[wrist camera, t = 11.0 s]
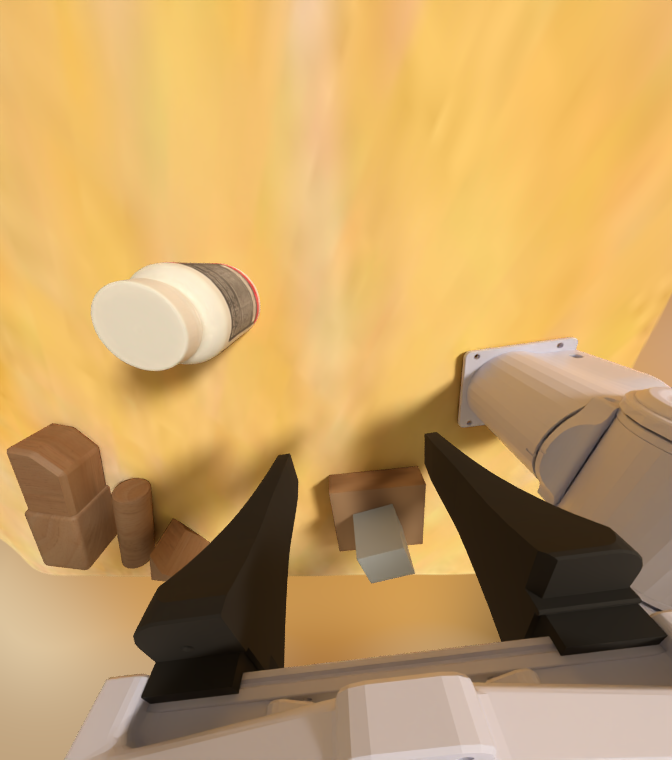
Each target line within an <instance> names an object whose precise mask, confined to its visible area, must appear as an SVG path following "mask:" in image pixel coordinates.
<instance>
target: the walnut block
mask: <svg viewBox="0 0 672 760" xmlns="http://www.w3.org/2000/svg"><path fill="white" fill-rule="evenodd" d="M425 489H426V484H425V481H424V479H423V477H422V474H421V472H420V470H419V468H418V466H414V467H405V468H395V469H385V470H375V471H365V472H355V473H346V474H336V475H329V496H330V501H331V506H332V512H333V517H334V523H335V528H336V533H337V539H338V544H339V550H340V551H348V550H356V544H355V533H354V522H353V514H357V513H360V512H364V511H368V510H371V509H375V508H379V507H382V506H386V505H390V504H393V507H394V509H395V511H396V514H397V516H398V519H399V521H400V523H401V526H402V528H403V532H404V535H405V539H406V543H407V545H415V544H422V543H423V525H424V507H425Z"/></svg>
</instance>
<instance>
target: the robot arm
mask: <svg viewBox="0 0 672 760" xmlns="http://www.w3.org/2000/svg"><path fill="white" fill-rule="evenodd" d="M559 343H560V344H559ZM558 344H559V345H558ZM577 344H578V340H577V339H576V338H574V337H567V338H560V339H553V340H545V341H538V342H531V343H524V344H516V345H509V346H502V347H495V348H488V349H480V350H473V351H468V352H466V353H465V355H464V357H463V369H462V380H461V391H460V403H459V414H458V424H459V426H460V427H472V426H480V425H486V426H487V427H488V428H489V429H490V430H491V431H492V432H493V433H494V434H495V435H496V436H497V437H498V438H499V439H500V440H501V441H502V443H503V444H504V445H505V446H506V447H507V448H508V449H509V450H510V451H511V452H512V453H513V454H514V455H515V456H516V457H517V458H518V459H519V460H520V461H521V462H522V463H523V464H524V465H525V466H526V467H527V468H528V469H529V470H530V471H531V472H532V473H533V474H534V476H535V477H536V478H537V479H538V480H539V482H540V486H539V489H538V491H537V492H538V493H539V494H540V496H541V497H542V498H543V499H544V500H545V501H543V500H541V499H539V498H537V497H535V496H533V495H531V494H529V493H527V492H525V491H523V490H521V489H519V488H517V487H515V486H514V485H512V484H510V483H508V482H507V481H505V480H503V479H501V478H500V477H498V476H496V475H495V474H493V473H491V472H490V471H488V470H487V469H485V468H484V467H482V466H481V465H479V464H478V463H476V462H475V461H473V460H472V459H471V458H469V457H468V456H467V455H465V454H464V453H462V452H461V451H460V450H459V449H457V448H456V447H455V446H453V445H452V444H451V443H450V442H448V441H447V440H446V439H444V438H443V437H442V436H441V435H439V434H438V433H437V432H434V433H427V434H425V466H426V468H427V471H428V474H429V476H430V478H431V481H432V483H433V485H434V487H435V489H436V491H437V492H438V494H439V496H440V498H441V500H442V502H443V504H444V506H445V507H446V509H447V511H448V513H449V515H450V517H451V519H452V520H453V522H454V524H455V526H456V528H457V530H458V532H459V535H460V537H461V539H462V542H463V544H464V546H465V549H466V551H467V553H468V556H469V558H470V561H471V563H472V566H473V568H474V571H475V573H476V576H477V578H478V581H479V583H480V586H481V588H482V591H483V593H484V596H485V599H486V601H487V603H488V606H489V609H490V612H491V614H492V617H493V620H494V623H495V625H496V628H497V631H498V634H499V636H500V639H501V642H497V643H488V644H480V645H471V646H463V647H455V648H447V649H438V650H430V651H421V652H413V653H406V654H396V655H388V656H379V657H371V658H363V659H354V660H346V661H338V662H329V663H321V664H313V665H304V666H296V667H288V668H284V648H285V647H284V646H285V617H286V595H287V577H288V564H289V552H290V544H291V538H292V532H293V526H294V520H295V513H296V507H297V500H298V478H297V475H296V472H295V469H294V465H293V462H292V459H291V455H290V454H284V455H279V456H278V457H277V458H276V460H275V462H274V463H273V465H272V466H271V468H270V470H269V471H268V473H267V474H266V476H265V477H264V479H263V480H262V482H261V483H260V485H259V486H258V488H257V489H256V491H255V492H254V493H253V495H252V496H251V497H250V499H249V500H248V501H247V503H246V504H245V505H244V507H243V508H242V509H241V510H240V512H239V513H238V514H237V515H236V516H235V517H234V519H233V520H232V521H231V522H230V523H229V524H228V525H227V526H226V527H225V528H224V530H223V531H222V532H221V533H220V534H219V535H218V536H217V537H216V538H215V539H214V540H213V541H212V542H211V543H210V544H209V545H208V546H207V547H206V548H204V549H203V550H202V551H201V552H200V553H199V554H198V555H197V556H196V557H195V558H193V559H192V560H191V561H190V562H189V563H188V564H187V565H185V566H184V567H183V568H182V569H181V570H179V571H178V572H177V573H176V574H174V575H173V576H172V577H171V578H170V579H168V580H167V581H166V582H165V583H163V584H162V585H161V586H159V587H158V589H157V591H156V593H155V594H154V596H153V598H152V600H151V602H150V604H149V605H148V608H147V609H146V611H145V613H144V615H143V617H142V619H141V621H140V623H139V625H138V627H137V629H136V631H135V633H134V636H133V637H134V641H135V644H136V645H137V646H138V648H139V649H140V650H142V651H143V652H144V653H145V654H146V655H148V656H149V657H150V658H151V659H152V660H154V661H155V662H156V664H155V665H154V668H153V670H152V672H151V675H150V676H149V675H145V674H134V675H126V676H118V677H110V678H109V679H108V680H106V682H105V683H104V685H103V687H102V689H101V691H100V693H99V695H98V697H97V699H96V700H95V702H94V705H93V706H92V708H91V710H90V712H89V714H88V716H87V717H86V719H85V721H84V723H83V725H82V727H81V729H80V731H79V733H78V734H77V736H76V738H75V740H74V742H73V744H72V746H71V748H70V750H69V751H68V753H67V755H66V757H65V759H64V760H672V387H669V386H668V385H667V384H665V383H664V382H662V381H661V380H659V379H657V378H655V377H653V376H651V375H649V374H646V373H642V372H640V371H637V370H634V369H631V368H628V367H625V366H622V365H619V364H617V363H614V362H611V361H608V360H605V359H602V358H599V357H596V356H593V355H590V354H587V353H584V352H582V351H579V350H576V348H577ZM557 345H558V346H557ZM476 354H478V356H477V357H476V358H474V356H475V355H476ZM468 421H470V422H469V423H467V422H468Z"/></svg>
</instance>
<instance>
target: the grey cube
mask: <svg viewBox="0 0 672 760" xmlns="http://www.w3.org/2000/svg"><path fill="white" fill-rule="evenodd" d="M353 522H354V533H355V544H356V555H357V560H358V562H359V564H360V565H361V567H362V569H363V570H364V572H365V574H366V576H367V577H368V579H369V581H370V582H371V583H375V582H380V581H384V580H388V579H393V578H397V577H402V576H406V575H411V574H415V572H414V568H413V565H412V561H411V557H410V554H409V550H408V546H407V543H406V539H405V535H404V532H403V528H402V526H401V523H400V521H399V519H398V516H397V514H396V511H395V509H394V507H393V504H390V505H386V506H382V507H379V508H375V509H371V510H368V511H364V512H360V513H357V514H353Z"/></svg>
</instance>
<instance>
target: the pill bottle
mask: <svg viewBox="0 0 672 760" xmlns="http://www.w3.org/2000/svg"><path fill="white" fill-rule="evenodd" d="M259 314H260V298H259V294H258V291H257V289H256V287H255V285H254V283H253V282H252V281H251V279H250V278H249V277H248V276H247V275H246V274H245V273H243V272H242V271H241V270H239V269H237V268H235V267H233V266H230V265H227V264H218V263H174V262H163V263H156V264H151V265H148V266H146V267H143V268H142V269H140V270H138V271H137V272H136V273H135V274H134V275H133V276H132V277H131V278H130V279H129V280H122V281H116V282H112V283H110V284H107V285H106V286H104V287H103V288H101V289H100V290H99V291H98V292H97V294H96V295H95V297H94V299H93V302H92V305H91V318H92V322H93V326H94V329H95V331H96V333H97V335H98V337H99V338H100V340H101V341H102V342H103V344H104V345H105V346H106V347H107V348H108V349H109V350H110V351H111V352H112V353H113V354H114V355H115V356H116V357H118V358H119V359H120V360H122V361H123V362H125V363H127V364H129V365H131V366H134V367H136V368H139V369H143V370H148V371H162V370H166V369H170V368H172V367H174V366H176V365H178V364H198V363H202V362H205V361H208V360H210V359H212V358H214V357H215V356H217V355H218V354H219V353H220V352H222V351H223V350H225V349H226V348H227V347H228V346H229V345H231V344H232V343H233V342H234V341H236V340H237V339H238V338H239V337H241V336H242V335H243V334H245V333H246V332H247V331H248V330H249V329H251V328H252V327H253V325H254V324H255V323H256V321H257V319H258V317H259Z"/></svg>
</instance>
